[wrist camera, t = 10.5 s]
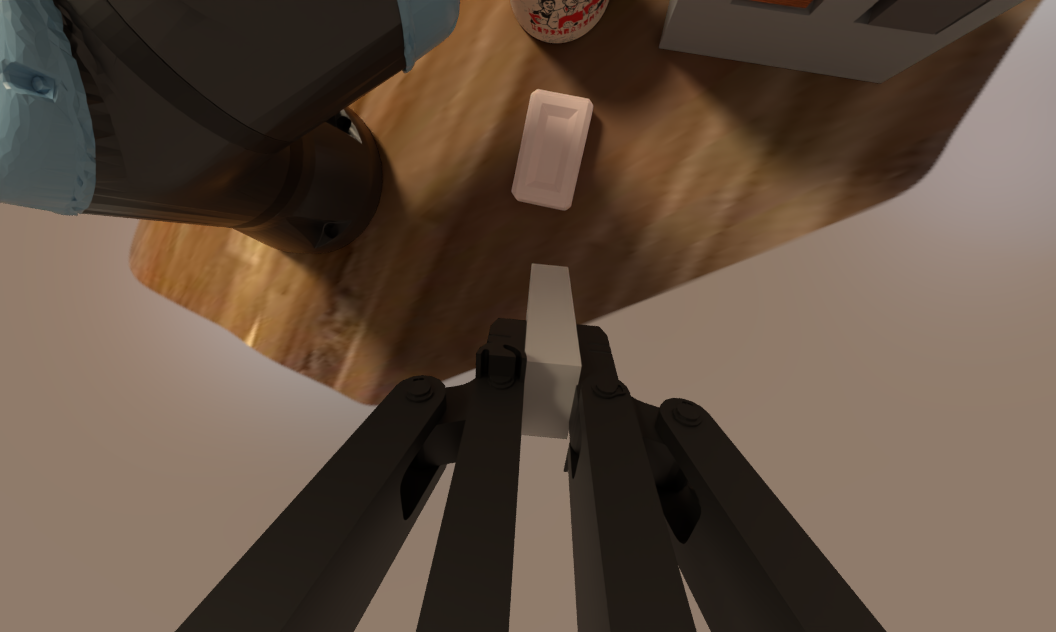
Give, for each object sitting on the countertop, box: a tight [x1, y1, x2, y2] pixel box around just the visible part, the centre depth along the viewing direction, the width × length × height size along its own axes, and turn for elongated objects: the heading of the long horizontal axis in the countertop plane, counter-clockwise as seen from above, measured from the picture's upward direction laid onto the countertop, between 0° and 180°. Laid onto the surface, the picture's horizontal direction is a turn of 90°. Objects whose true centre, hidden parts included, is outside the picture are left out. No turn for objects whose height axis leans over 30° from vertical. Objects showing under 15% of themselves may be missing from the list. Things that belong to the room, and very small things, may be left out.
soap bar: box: [511, 89, 593, 211], centre depth 34 cm, size 5×9×2 cm, turn 168°
